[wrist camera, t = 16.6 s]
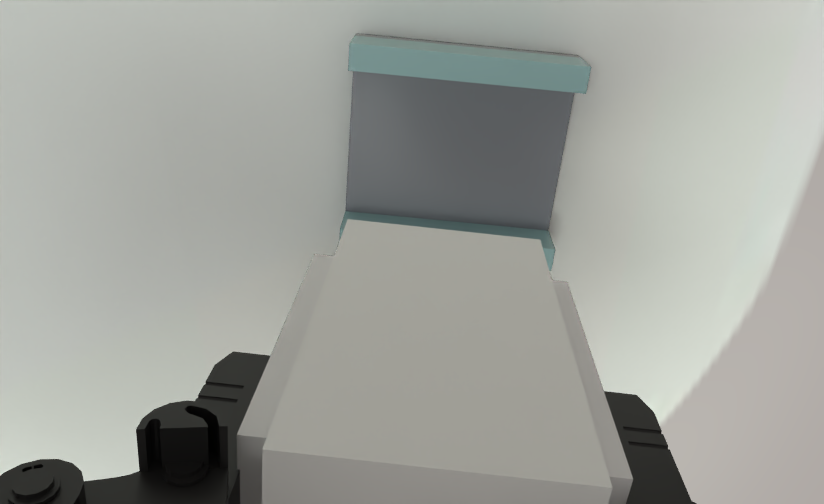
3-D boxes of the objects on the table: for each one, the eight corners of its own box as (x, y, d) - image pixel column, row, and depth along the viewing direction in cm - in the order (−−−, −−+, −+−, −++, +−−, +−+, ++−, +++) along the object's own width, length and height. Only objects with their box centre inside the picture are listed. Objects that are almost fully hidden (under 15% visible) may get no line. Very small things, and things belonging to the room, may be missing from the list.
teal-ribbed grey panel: (338, 364, 35) (331, 395, 32) (356, 33, 28) (349, 43, 26) (517, 380, 35) (522, 413, 33) (578, 55, 28) (591, 66, 26)
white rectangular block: (337, 379, 18) (261, 678, 11) (347, 218, 16) (262, 448, 9) (510, 398, 18) (550, 710, 11) (540, 239, 16) (612, 487, 9)
